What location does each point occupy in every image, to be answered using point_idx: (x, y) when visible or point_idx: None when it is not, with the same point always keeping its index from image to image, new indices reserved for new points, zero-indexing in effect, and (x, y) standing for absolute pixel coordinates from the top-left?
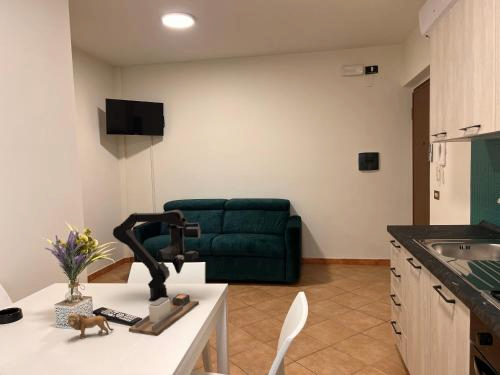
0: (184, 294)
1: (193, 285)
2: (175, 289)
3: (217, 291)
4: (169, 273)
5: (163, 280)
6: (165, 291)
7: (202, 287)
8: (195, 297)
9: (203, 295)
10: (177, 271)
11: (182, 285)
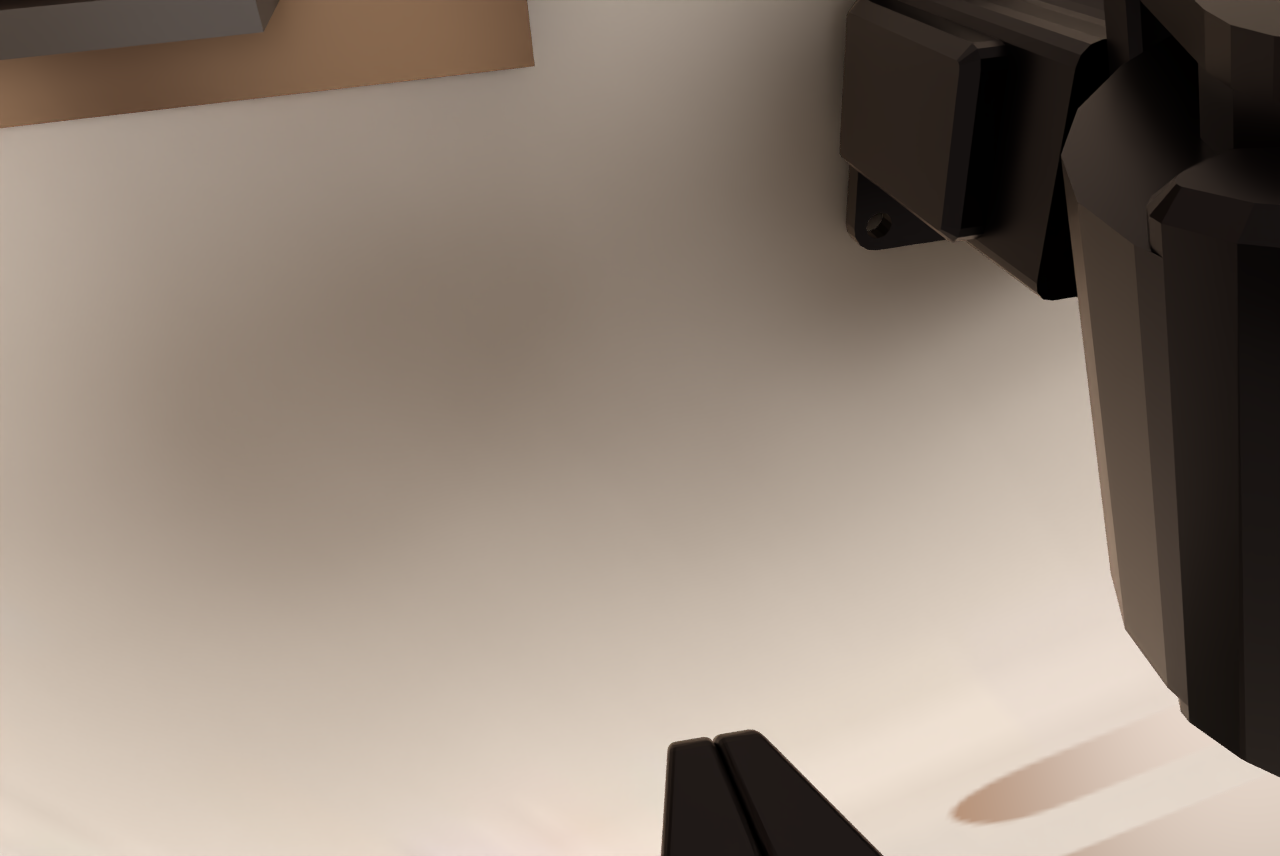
0: (9, 54)
1: None
2: (913, 576)
3: (76, 829)
4: (1159, 668)
5: (1147, 129)
6: (913, 149)
7: (499, 819)
8: (231, 455)
9: (160, 599)
10: (738, 819)
11: (886, 733)
